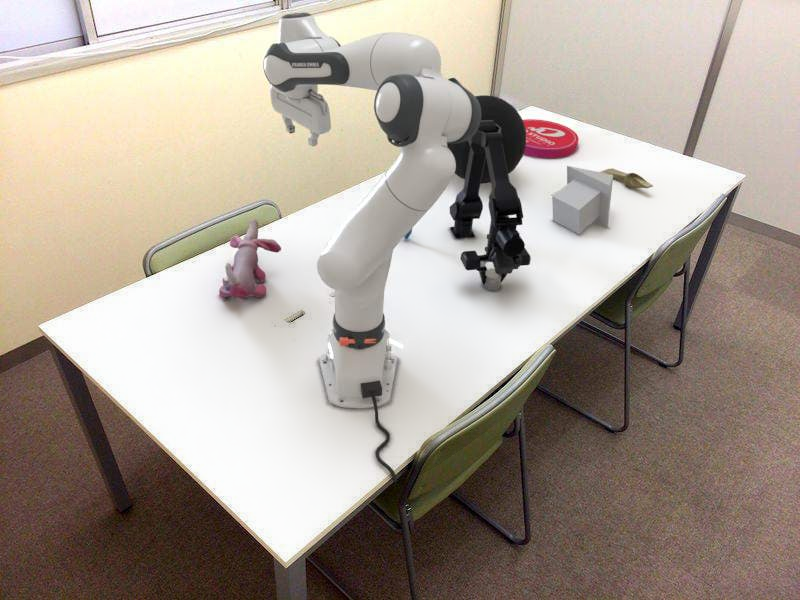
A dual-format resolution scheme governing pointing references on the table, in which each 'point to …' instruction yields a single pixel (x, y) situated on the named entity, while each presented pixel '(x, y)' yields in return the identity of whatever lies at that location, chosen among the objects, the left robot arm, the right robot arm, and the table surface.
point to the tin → (492, 280)
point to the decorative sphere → (510, 130)
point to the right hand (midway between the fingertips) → (491, 282)
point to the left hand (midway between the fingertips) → (301, 138)
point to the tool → (629, 178)
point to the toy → (247, 265)
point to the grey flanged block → (583, 199)
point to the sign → (549, 139)
